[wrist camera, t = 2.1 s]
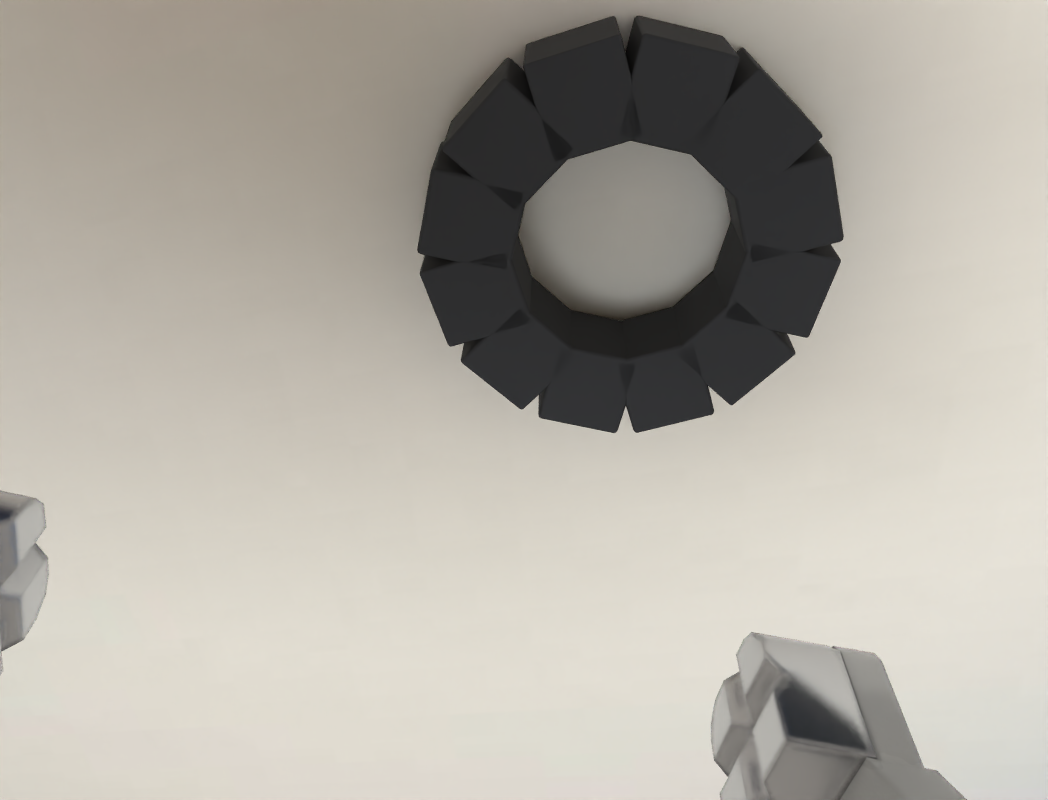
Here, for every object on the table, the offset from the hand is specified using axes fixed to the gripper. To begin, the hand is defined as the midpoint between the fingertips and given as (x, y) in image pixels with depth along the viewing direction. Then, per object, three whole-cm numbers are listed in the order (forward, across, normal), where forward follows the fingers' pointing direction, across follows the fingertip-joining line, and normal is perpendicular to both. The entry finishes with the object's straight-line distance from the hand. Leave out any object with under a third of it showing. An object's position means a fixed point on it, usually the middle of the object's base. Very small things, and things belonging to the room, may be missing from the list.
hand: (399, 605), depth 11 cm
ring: (+15, -4, 0) cm, 15 cm away
